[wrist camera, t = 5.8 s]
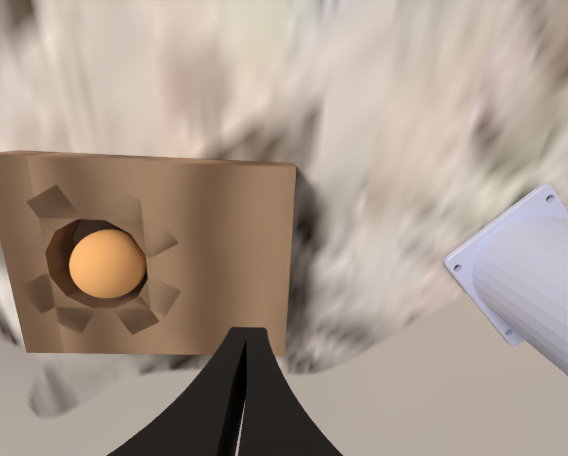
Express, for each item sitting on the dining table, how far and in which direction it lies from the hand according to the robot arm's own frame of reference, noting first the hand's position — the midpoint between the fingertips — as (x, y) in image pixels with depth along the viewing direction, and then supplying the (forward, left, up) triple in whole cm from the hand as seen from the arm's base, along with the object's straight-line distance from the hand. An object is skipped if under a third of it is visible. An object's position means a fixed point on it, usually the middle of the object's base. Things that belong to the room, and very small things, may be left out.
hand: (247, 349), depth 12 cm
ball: (+6, +6, -8) cm, 11 cm away
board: (+4, +4, -10) cm, 11 cm away
